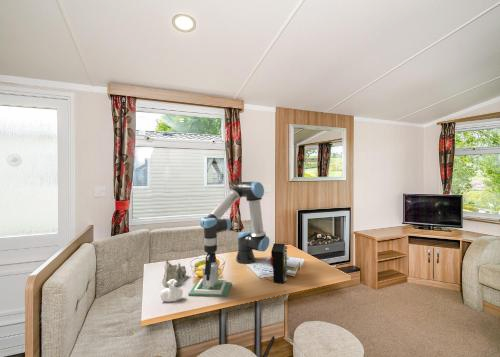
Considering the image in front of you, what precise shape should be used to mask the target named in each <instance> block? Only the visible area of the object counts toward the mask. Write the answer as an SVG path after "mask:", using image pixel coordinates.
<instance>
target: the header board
mask: <svg viewBox="0 0 500 357" xmlns="http://www.w3.org/2000/svg"><path fill="white" fill-rule="evenodd" d="M231 285H232V281H227V279H226V278H219V279H218V281H217V282H216V283H215V285H214V286H213V287H206V286H203V278H201V279H200V280H197V281H196V282H195V284H194V285H193V286H192V288H191V290H190V291H189V292H188V296H190V297H215V298H216V297H219V298H223V297H224V298H227V296H228V294H229V292H230V289H231Z"/></svg>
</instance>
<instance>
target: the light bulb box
mask: <svg viewBox="0 0 500 357" xmlns="http://www.w3.org/2000/svg"><path fill="white" fill-rule="evenodd" d="M219 263H220V262H219V261H216V262H212V263H211V269H210V274H211V286H206V275H204V273H205V265H204V266H203V268H202V279H203V286H206V287H213V286H214V285H215V283H216V282H217V281H218V279H220V278H219V277H220V276H219V268H220V267H219ZM207 273H208V272H207Z"/></svg>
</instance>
